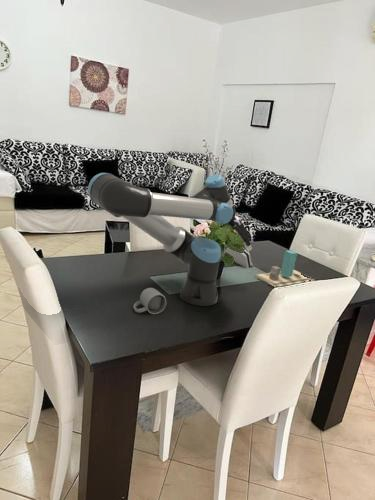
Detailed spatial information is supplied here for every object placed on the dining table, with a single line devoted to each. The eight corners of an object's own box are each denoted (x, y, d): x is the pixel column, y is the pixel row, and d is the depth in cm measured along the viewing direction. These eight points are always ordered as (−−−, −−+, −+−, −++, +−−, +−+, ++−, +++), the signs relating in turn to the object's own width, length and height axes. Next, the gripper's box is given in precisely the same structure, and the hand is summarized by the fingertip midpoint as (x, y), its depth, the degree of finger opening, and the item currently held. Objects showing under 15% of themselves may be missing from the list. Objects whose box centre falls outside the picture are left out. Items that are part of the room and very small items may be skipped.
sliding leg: (285, 278, 185) (291, 253, 181) (279, 275, 188) (285, 250, 184) (291, 277, 187) (297, 253, 183) (285, 274, 190) (291, 250, 186)
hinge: (253, 266, 200) (252, 250, 195) (247, 270, 198) (246, 254, 193) (230, 255, 212) (229, 240, 207) (224, 259, 210) (222, 243, 204)
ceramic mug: (155, 302, 146) (157, 284, 144) (165, 312, 140) (167, 293, 137) (129, 306, 141) (131, 287, 138) (138, 317, 134) (140, 297, 132)
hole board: (274, 289, 175) (277, 274, 173) (253, 277, 186) (256, 263, 184) (315, 282, 191) (318, 268, 188) (293, 271, 201) (296, 258, 199)
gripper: (250, 210, 156) (264, 249, 168) (214, 196, 175) (228, 232, 188) (237, 221, 154) (252, 259, 166) (201, 206, 173) (217, 241, 186)
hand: (239, 245), depth 177 cm, fingers open, 13 cm apart
